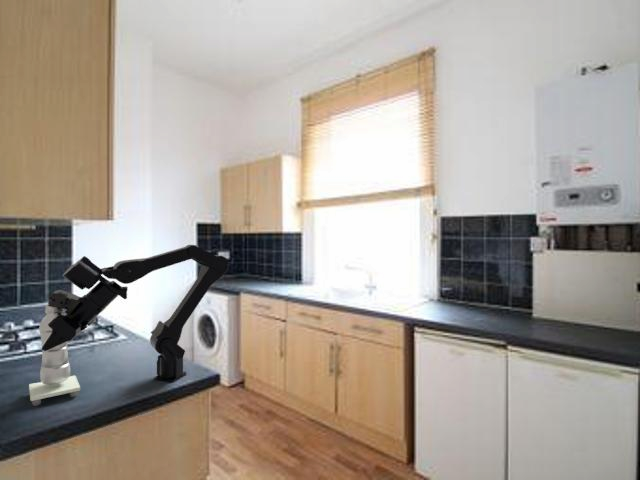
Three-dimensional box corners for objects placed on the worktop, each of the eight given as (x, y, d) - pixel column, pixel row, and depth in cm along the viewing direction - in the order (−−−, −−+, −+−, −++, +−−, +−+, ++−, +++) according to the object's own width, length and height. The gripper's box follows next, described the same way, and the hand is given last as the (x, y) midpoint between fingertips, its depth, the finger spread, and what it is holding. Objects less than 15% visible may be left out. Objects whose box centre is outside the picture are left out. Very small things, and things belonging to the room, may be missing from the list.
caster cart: (75, 384, 103) (75, 375, 103) (80, 397, 96) (80, 387, 96) (29, 393, 97) (29, 384, 97) (30, 408, 89) (30, 397, 89)
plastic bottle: (72, 376, 101) (70, 301, 100) (69, 385, 95) (68, 305, 94) (42, 380, 98) (41, 303, 97) (37, 390, 92) (36, 308, 91)
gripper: (83, 274, 106) (37, 316, 103) (57, 284, 88) (1, 335, 85) (114, 301, 108) (71, 343, 105) (96, 315, 90) (43, 366, 87)
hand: (48, 345), depth 96 cm, fingers closed on plastic bottle, 6 cm apart
